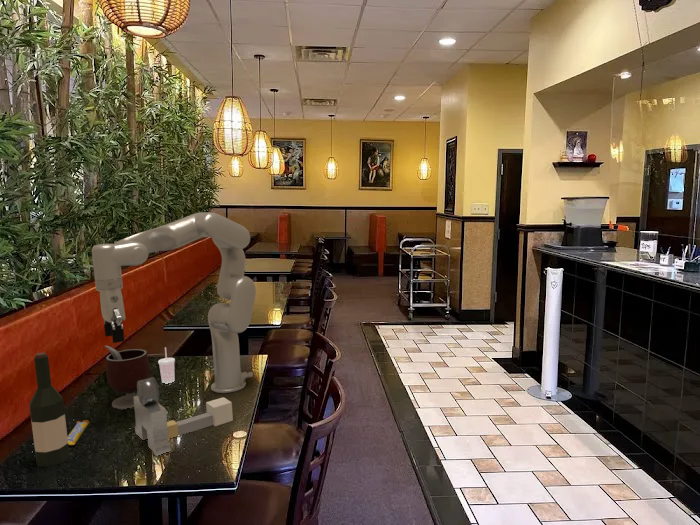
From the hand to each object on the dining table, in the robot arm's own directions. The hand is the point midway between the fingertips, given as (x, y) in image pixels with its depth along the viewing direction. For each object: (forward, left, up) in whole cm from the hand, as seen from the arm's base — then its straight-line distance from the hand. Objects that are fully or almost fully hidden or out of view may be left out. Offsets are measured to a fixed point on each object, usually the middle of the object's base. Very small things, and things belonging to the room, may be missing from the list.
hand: (114, 338), depth 159 cm
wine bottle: (+21, +11, -28) cm, 37 cm away
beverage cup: (-24, -26, -28) cm, 45 cm away
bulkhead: (-3, +20, -28) cm, 34 cm away
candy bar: (+13, -2, -28) cm, 31 cm away
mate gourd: (-7, -17, -28) cm, 33 cm away
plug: (-16, +20, -28) cm, 38 cm away
